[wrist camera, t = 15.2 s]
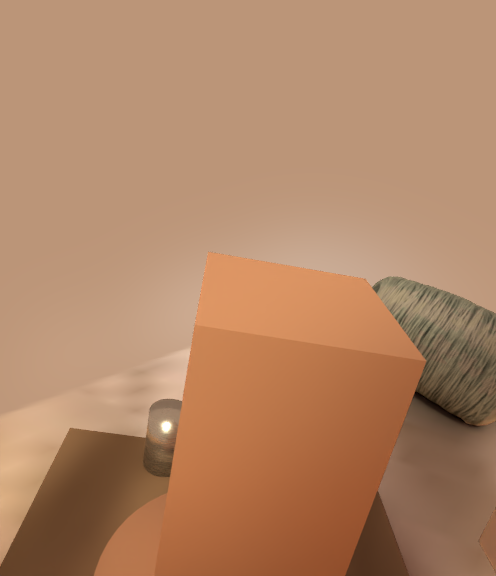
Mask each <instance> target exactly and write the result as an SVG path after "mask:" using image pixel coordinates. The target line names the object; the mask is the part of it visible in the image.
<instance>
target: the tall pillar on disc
mask: <svg viewBox="0 0 496 576" xmlns="http://www.w3.org/2000/svg"><path fill="white" fill-rule="evenodd" d="M425 364H426V360H425V358H424V357H423V356H422V354H421V353H420V352H419V350H418V349H417V348H416V346H415V345H414V344H413V342H412V341H411V340H410V338H409V337H408V336H407V334H406V333H405V332H404V330H403V329H402V327H401V326H400V325H399V323H398V322H397V321H396V319H395V318H394V317H393V315H392V314H391V313H390V311H389V310H388V309H387V307H386V306H385V305H384V303H383V302H382V301H381V299H380V298H379V296H378V295H377V294H376V292H375V291H374V290H373V288H372V287H371V286H370V284H369V283H368V282H367V280H366V279H363V278H357V277H351V276H346V275H340V274H334V273H328V272H323V271H317V270H311V269H305V268H299V267H293V266H287V265H282V264H276V263H270V262H264V261H259V260H253V259H247V258H241V257H235V256H230V255H224V254H218V253H212V252H208V256H207V261H206V267H205V272H204V277H203V283H202V288H201V294H200V299H199V305H198V310H197V316H196V321H195V327H194V333H193V339H192V345H191V351H190V357H189V364H188V370H187V376H186V382H185V388H184V394H183V400H182V407H181V413H180V419H179V425H178V431H177V437H176V443H175V450H174V456H173V462H172V468H171V474H170V480H169V486H168V493H166V494H163V495H161V496H159V497H157V498H155V499H153V500H151V501H149V502H148V503H146V504H145V505H143V506H142V507H140V508H139V509H138V510H136V511H135V512H134V513H133V514H132V515H130V516H129V517H128V518H127V519H126V520H125V521H124V522H123V523H122V525H121V526H120V527H119V528H118V529H117V530H116V532H115V533H114V534H113V536H112V537H111V539H110V540H109V541H108V543H107V545H106V547H105V549H104V551H103V553H102V555H101V557H100V559H99V562H98V565H97V567H96V570H95V573H94V576H345V575H346V572H347V569H348V567H349V564H350V562H351V559H352V556H353V554H354V551H355V548H356V546H357V543H358V540H359V538H360V535H361V533H362V530H363V527H364V525H365V522H366V519H367V517H368V514H369V511H370V509H371V506H372V504H373V501H374V498H375V496H376V493H377V490H378V488H379V485H380V482H381V480H382V477H383V475H384V472H385V469H386V467H387V464H388V461H389V459H390V456H391V453H392V451H393V448H394V446H395V443H396V440H397V438H398V435H399V432H400V430H401V427H402V424H403V422H404V419H405V417H406V414H407V411H408V409H409V406H410V403H411V401H412V398H413V395H414V393H415V390H416V388H417V385H418V382H419V380H420V377H421V374H422V372H423V369H424V366H425Z"/></svg>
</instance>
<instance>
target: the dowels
mask: <svg viewBox="0 0 496 576" xmlns="http://www.w3.org/2000/svg"><path fill="white" fill-rule="evenodd" d="M181 407H182V401H179V400H175V399H163V400H159V401H157V402H155V403H154V404H153V405H152V406H151V407H150V411H149V418H148V426H147V433H146V441H145V448H144V456H143V466H144V468H145V469H146V470H147V471H148V472H149V473H150V474H152V475H155V476H158V477H170V474H171V468H172V462H173V456H174V450H175V443H176V437H177V431H178V425H179V419H180V413H181Z"/></svg>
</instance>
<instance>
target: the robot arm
mask: <svg viewBox="0 0 496 576" xmlns="http://www.w3.org/2000/svg"><path fill="white" fill-rule="evenodd" d="M479 543H480V545H481V547H482V549H483V550H484V552H485V554H486V556H487V558H488V560H489V561H490V563H491V565H492V567H493V569H494V571H495V572H496V508H495V510H494V512H493V514H492V516H491V518H490V520H489V521H488V523H487V525H486V527H485V529H484V531H483V533H482V535H481V537H480V539H479Z"/></svg>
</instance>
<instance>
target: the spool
mask: <svg viewBox="0 0 496 576" xmlns="http://www.w3.org/2000/svg"><path fill="white" fill-rule="evenodd" d="M372 288H373V290H374V291H375V292H376V294H377V295H378V296H379V298H380V299H381V301H382V302H383V303H384V305H385V306H386V307H387V309H388V310H389V311H390V313H391V314H392V315H393V317H394V318H395V319H396V321H397V322H398V323H399V325H400V326H401V327H402V329H403V330H404V332H405V333H406V334H407V336H408V337H409V338H410V340H411V341H412V342H413V344H414V345H415V346H416V348H417V349H418V350H419V352H420V353H421V354H422V356H423V357H424V358H425V360H426V364H425V366H424V369H423V372H422V374H421V377H420V380H419V382H418V385H417V388H416V390H415V391H417V392H418V393H420V394H422V395H423V396H425V397H426V398H428V399H429V400H431V401H432V402H434V403H436V404H438V405H440V406H441V407H442V408H444V409H445V410H446V411H448V412H450V413H452V414H454V415H456V416H458V417H460V418H462V419H463V420H464V421H465V422H466V423H468V424H472V425H476V426H481V425H488V424H491V423H493V422H495V421H496V314H495V313H494V312H492V311H489V310H487V309H485V308H483V307H481V306H478V305H476V304H474V303H472V302H471V301H469V300H467V299H464V298H462V297H459V296H457V295H454V294H451V293H449V292H446V291H443V290H439V289H437V288H434V287H431V286H428V285H423V284H420V283H418V282H415V281H411V280H407V279H404V278H401V277H387V278H385V279H382V280H381V281H379V282H377V283H376V284H375V285H374V286H373V287H372Z"/></svg>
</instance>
